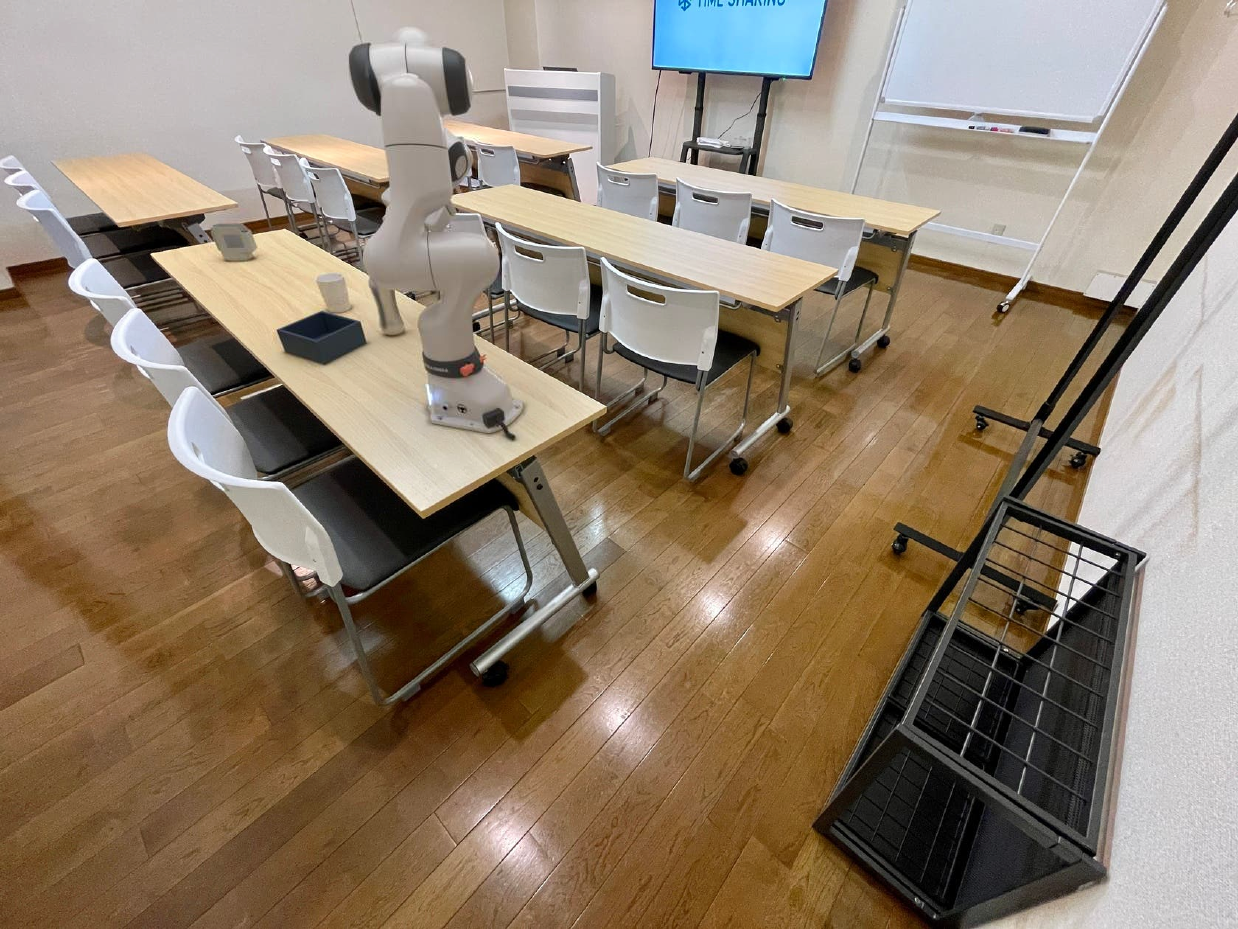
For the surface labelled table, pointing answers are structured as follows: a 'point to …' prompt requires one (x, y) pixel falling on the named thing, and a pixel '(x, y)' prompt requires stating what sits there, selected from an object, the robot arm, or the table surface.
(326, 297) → the white cup
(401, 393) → the table surface
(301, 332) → the tub
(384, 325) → the metal water bottle
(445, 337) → the robot arm
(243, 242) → the cable organizer
